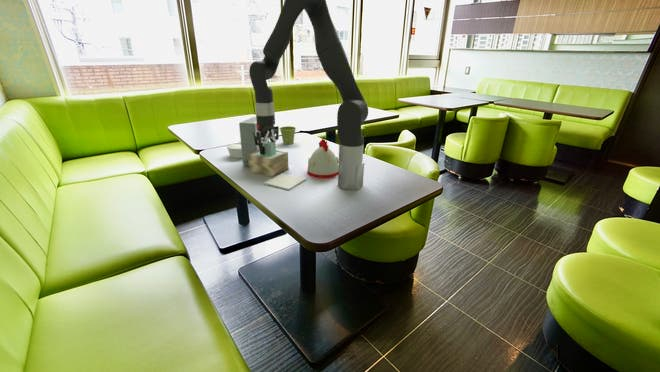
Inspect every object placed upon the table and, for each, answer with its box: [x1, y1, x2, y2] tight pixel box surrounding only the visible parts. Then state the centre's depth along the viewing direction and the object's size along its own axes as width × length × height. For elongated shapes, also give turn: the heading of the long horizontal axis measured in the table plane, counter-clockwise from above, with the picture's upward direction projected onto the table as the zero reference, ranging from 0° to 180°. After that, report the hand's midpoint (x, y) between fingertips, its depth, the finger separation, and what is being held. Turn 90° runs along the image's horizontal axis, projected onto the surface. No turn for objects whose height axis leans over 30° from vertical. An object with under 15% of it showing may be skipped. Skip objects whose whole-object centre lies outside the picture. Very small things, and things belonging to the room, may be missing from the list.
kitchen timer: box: [307, 138, 339, 180], centre depth 129 cm, size 14×14×15 cm
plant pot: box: [279, 126, 297, 145], centre depth 172 cm, size 9×9×9 cm
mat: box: [263, 172, 307, 191], centre depth 121 cm, size 12×12×1 cm
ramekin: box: [227, 142, 242, 159], centre depth 150 cm, size 11×11×5 cm
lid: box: [253, 140, 283, 158], centre depth 129 cm, size 11×9×6 cm
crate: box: [248, 149, 289, 178], centre depth 131 cm, size 13×11×8 cm
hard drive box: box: [238, 116, 270, 167], centre depth 140 cm, size 16×8×20 cm, turn 168°
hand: (268, 152), depth 130 cm, fingers open, 6 cm apart
